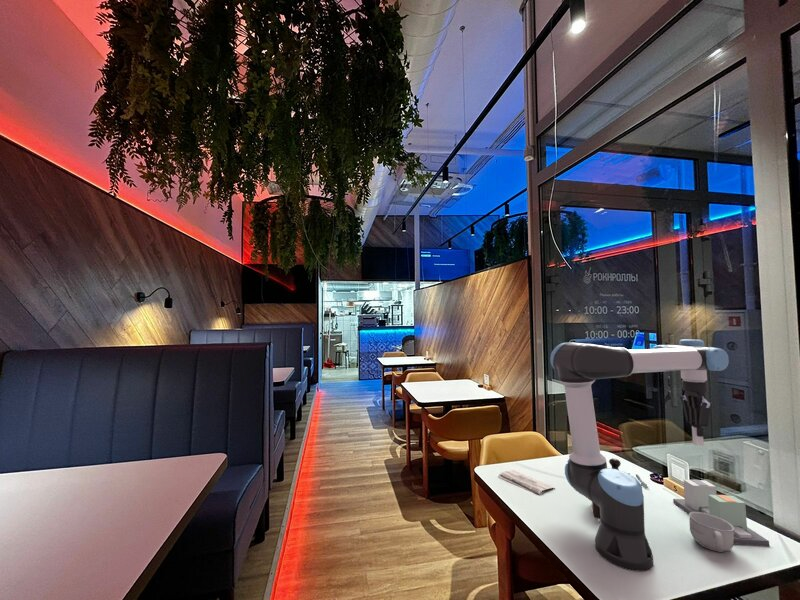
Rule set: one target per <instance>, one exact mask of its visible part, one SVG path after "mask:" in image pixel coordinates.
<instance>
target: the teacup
mask: <svg viewBox="0 0 800 600" xmlns="http://www.w3.org/2000/svg"><path fill="white" fill-rule="evenodd" d="M688 516H689V532H690V534H691V536H692V538H694V539H695V540H696V542H697V543H698V544H699V545H701V546H702V547H704V548H706V549H709V550H711V551H713V552H714V551H715V552H718V553H719V552H720V553H723V552H727V551H730V550H732V549H733V548H734V547H733V546H734V544H733V541H734V527H733V526H732V525H731V524H730V523H728V522H727V521H725V520H723V519H721V518H718V517H716V516H713V515H710V514H707V513H702V512H691V513H689V514H688Z"/></svg>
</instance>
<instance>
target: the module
mask: <svg viewBox="0 0 800 600" xmlns="http://www.w3.org/2000/svg"><path fill="white" fill-rule="evenodd" d="M708 500H709V514H710V515H713V516H716V517H718V518H721V519H723V520H725V521H727V522H728V523H730V524H731V525H732V526H738V527H740V528H741V529H743V530H744V531H747V527H748V524H747V523H748V522H747V510H746V509H747V508H746V502H745V501H744V500H743V501H742V500H741V499H739V498H738V497H736V496H733V495H726V494H717V495H708Z"/></svg>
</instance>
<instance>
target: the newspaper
mask: <svg viewBox="0 0 800 600" xmlns="http://www.w3.org/2000/svg"><path fill="white" fill-rule="evenodd" d="M498 478H500V479H502V480H505V481H506V482H510V483H511V484H514V485H516V486H518V487H520V488H522V489H524V490H525V491H527V492H531V493H534V494H537V495H543V494H545V493H544V492H545V491H546V490H549V489H550V490H551V489H552V488H554V489H553V490H555V489H556V488H555V487H554V486H551V485H549V484H546V483H544V482H541V481H539V480H537V479H534V478H533V477H531V476H527V475H525V474H523V473H520V472H518V471H517V470H512V469H511V470H506V471H503V472H500V473H499V476H498ZM541 491H543V492H541Z"/></svg>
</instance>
